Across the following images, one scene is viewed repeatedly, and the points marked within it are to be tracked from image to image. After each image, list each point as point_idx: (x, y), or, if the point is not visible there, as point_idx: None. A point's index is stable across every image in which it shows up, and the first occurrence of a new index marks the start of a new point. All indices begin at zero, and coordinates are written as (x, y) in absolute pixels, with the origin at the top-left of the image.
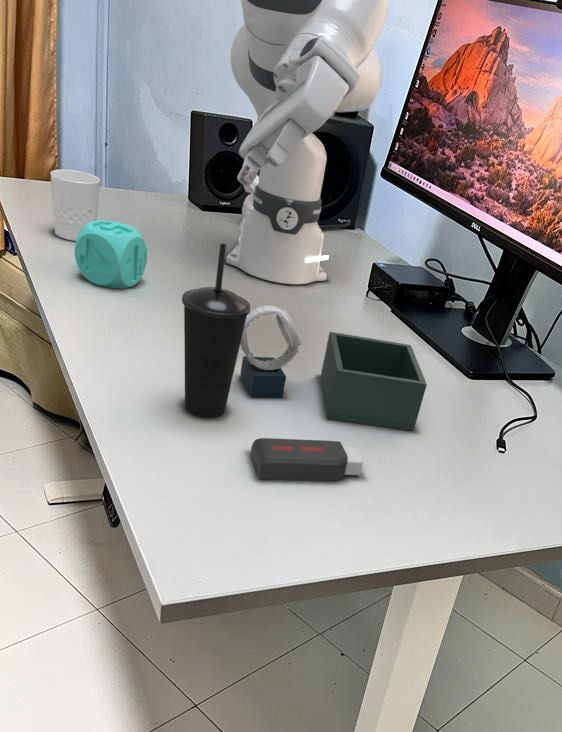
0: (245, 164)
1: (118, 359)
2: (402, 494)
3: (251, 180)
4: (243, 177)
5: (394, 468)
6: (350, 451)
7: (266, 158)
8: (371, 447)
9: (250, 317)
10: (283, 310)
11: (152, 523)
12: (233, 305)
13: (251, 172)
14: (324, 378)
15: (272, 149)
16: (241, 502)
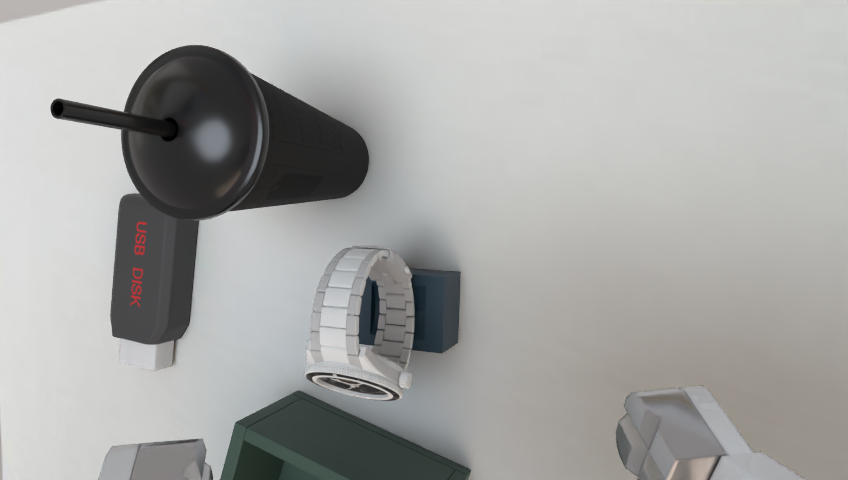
0: (742, 474)
1: (543, 11)
2: (102, 401)
3: (624, 453)
4: (630, 404)
5: (158, 429)
6: (143, 355)
7: (193, 439)
8: (212, 424)
9: (337, 268)
10: (346, 368)
11: (72, 29)
12: (136, 161)
13: (657, 478)
14: (405, 452)
15: (100, 477)
16: (100, 153)
